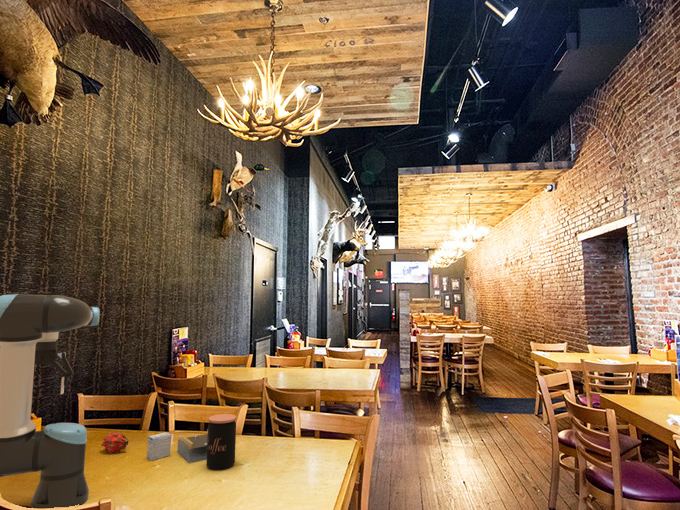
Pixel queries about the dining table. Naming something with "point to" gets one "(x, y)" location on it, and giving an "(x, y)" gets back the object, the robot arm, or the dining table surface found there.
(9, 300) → the robot arm
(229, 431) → the coffee jar
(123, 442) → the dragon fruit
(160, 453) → the medicine box
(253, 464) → the dining table surface
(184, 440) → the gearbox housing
